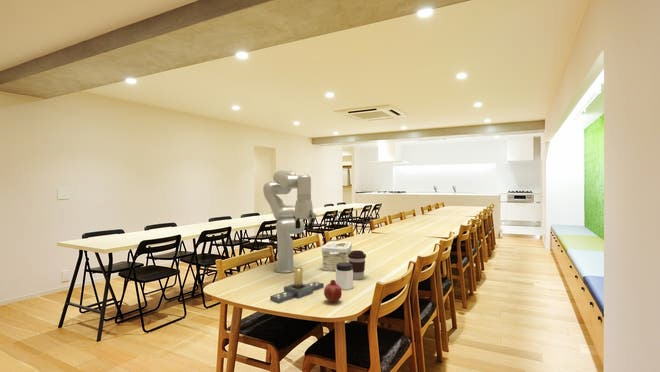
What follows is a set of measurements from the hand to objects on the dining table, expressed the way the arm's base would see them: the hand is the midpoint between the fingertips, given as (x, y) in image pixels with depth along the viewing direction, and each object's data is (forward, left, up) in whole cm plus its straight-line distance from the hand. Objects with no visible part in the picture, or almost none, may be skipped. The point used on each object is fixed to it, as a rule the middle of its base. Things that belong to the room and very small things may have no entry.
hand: (304, 229), depth 186 cm
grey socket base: (+13, -17, -28) cm, 35 cm away
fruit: (+33, -15, -28) cm, 46 cm away
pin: (+13, -17, -28) cm, 35 cm away
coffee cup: (+19, +23, -28) cm, 41 cm away
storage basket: (-5, +35, -29) cm, 46 cm away
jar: (+24, +5, -28) cm, 38 cm away
